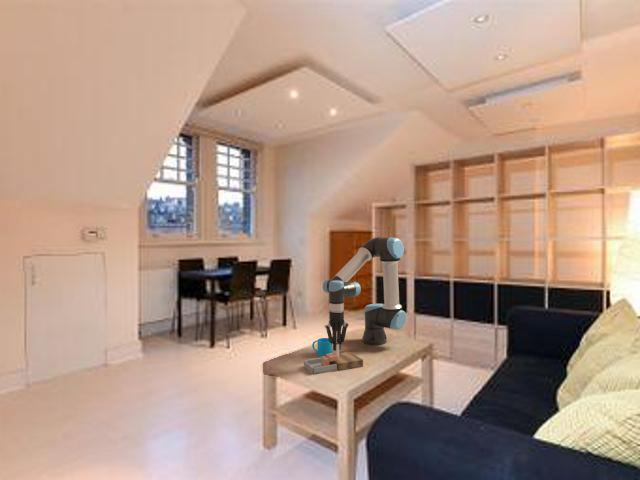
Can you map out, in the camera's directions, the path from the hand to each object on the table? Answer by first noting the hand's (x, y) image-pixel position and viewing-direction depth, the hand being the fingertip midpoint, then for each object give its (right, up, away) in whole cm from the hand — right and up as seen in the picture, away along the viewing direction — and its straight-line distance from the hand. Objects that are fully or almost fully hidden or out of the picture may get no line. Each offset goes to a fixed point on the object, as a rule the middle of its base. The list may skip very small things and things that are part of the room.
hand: (336, 356), depth 204 cm
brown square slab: (+4, -5, +2) cm, 7 cm away
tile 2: (-3, -1, -1) cm, 3 cm away
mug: (-8, -4, +19) cm, 21 cm away
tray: (-9, -5, -4) cm, 11 cm away
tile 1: (-5, -2, -2) cm, 6 cm away
